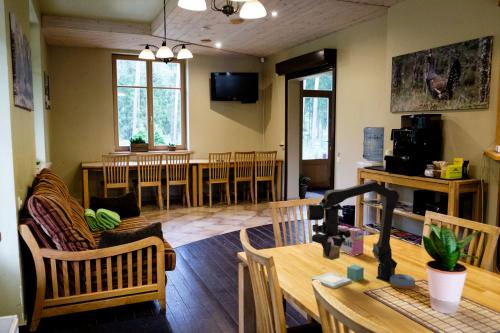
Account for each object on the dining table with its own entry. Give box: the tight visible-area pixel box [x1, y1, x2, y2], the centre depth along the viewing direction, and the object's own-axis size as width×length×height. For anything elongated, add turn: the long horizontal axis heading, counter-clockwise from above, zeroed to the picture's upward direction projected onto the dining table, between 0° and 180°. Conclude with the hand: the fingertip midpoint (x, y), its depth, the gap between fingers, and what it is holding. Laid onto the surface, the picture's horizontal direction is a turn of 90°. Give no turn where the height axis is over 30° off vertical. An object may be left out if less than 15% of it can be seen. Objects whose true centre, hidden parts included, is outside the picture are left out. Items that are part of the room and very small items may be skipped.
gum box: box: [329, 222, 365, 256], centre depth 218 cm, size 24×8×14 cm, turn 31°
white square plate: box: [311, 271, 353, 290], centre depth 172 cm, size 12×12×1 cm
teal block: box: [346, 264, 365, 282], centre depth 176 cm, size 5×5×5 cm
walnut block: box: [322, 244, 341, 261], centre depth 173 cm, size 5×5×5 cm
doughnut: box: [389, 273, 416, 290], centre depth 167 cm, size 10×10×5 cm
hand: (331, 255), depth 173 cm, fingers closed on walnut block, 5 cm apart
